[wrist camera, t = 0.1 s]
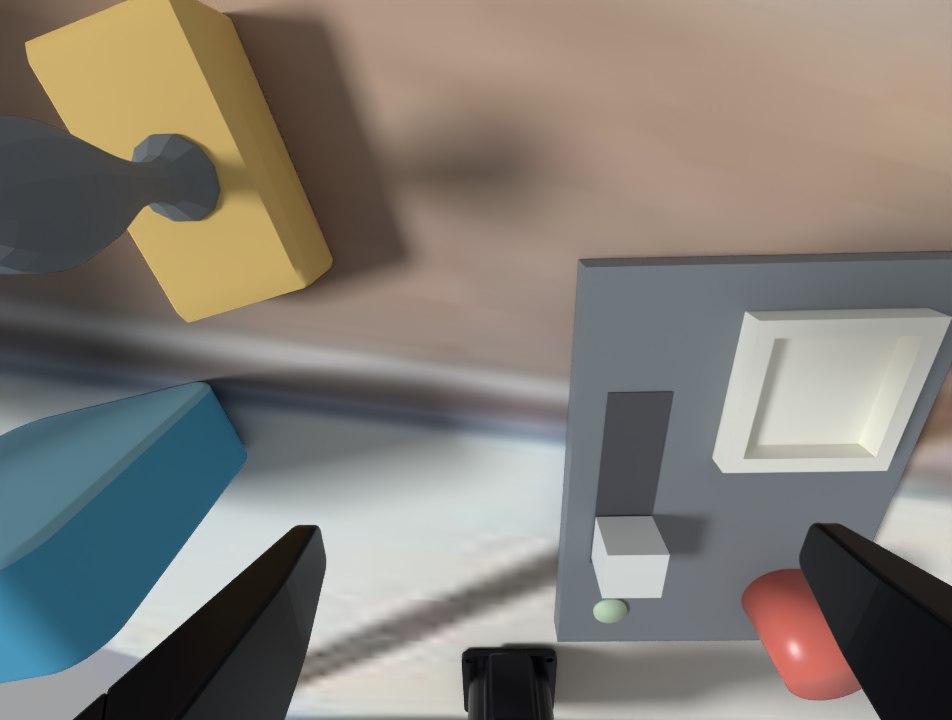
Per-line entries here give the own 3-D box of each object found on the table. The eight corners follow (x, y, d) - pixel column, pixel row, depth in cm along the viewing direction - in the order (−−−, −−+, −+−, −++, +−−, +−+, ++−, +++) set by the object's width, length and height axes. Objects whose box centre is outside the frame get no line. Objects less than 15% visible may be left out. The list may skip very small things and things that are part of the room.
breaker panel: (813, 617, 31) (842, 658, 28) (554, 619, 31) (560, 660, 29) (963, 250, 21) (1028, 265, 18) (578, 259, 21) (591, 274, 19)
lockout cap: (808, 621, 29) (862, 700, 25) (734, 621, 29) (776, 700, 25) (829, 568, 27) (892, 644, 23) (750, 568, 27) (798, 644, 23)
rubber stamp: (338, 264, 21) (191, 391, 10) (225, 299, 22) (-22, 450, 11) (230, 10, 17) (-187, -211, 7) (97, 62, 18) (-479, -58, 7)
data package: (68, 488, 27) (-214, 723, 16) (17, 423, 25) (-340, 639, 14) (259, 446, 26) (95, 671, 15) (220, 374, 24) (0, 569, 13)
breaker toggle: (644, 557, 26) (660, 597, 24) (591, 557, 26) (602, 598, 24) (652, 516, 25) (669, 554, 23) (595, 516, 25) (607, 555, 23)
